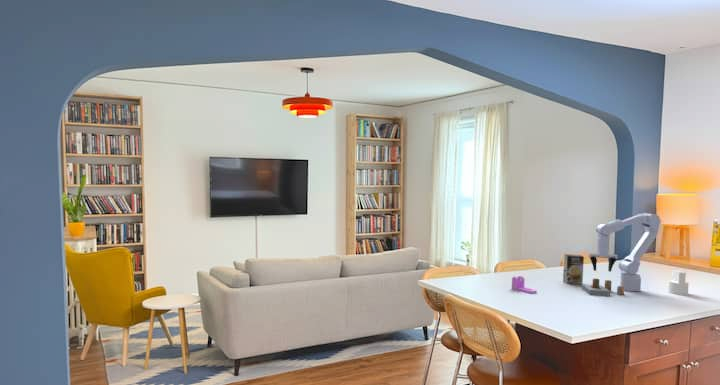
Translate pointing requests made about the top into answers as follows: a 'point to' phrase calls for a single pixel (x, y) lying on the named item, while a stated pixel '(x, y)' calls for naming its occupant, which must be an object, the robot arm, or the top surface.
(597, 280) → the tall dowel
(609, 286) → the mid dowel
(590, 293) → the hole board
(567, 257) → the coffee box
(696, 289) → the top surface
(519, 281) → the bracket
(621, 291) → the short dowel
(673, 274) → the base with upright slab
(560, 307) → the top surface
